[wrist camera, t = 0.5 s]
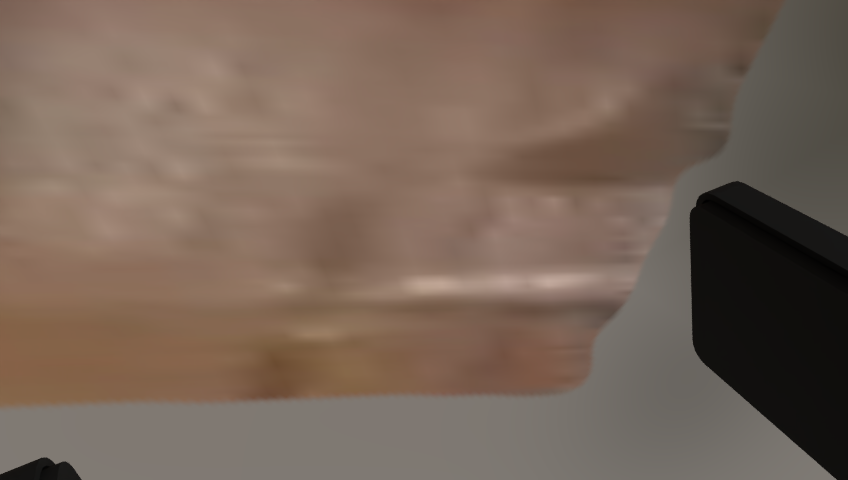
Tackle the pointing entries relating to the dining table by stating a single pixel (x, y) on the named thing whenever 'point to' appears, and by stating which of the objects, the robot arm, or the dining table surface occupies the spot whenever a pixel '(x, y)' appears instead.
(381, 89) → the dining table surface
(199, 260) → the dining table surface
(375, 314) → the dining table surface
